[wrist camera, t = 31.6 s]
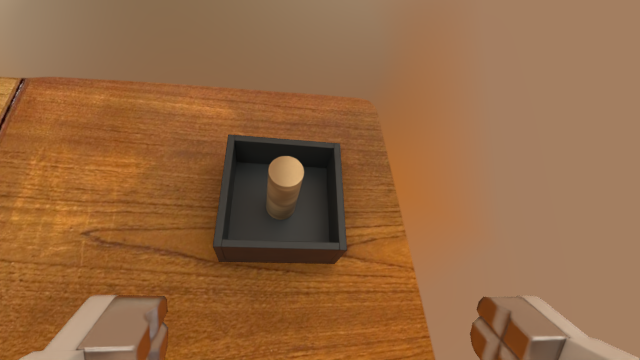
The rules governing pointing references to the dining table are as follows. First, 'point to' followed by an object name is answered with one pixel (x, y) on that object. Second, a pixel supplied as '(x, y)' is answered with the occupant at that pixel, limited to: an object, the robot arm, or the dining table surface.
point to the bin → (251, 214)
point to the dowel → (283, 186)
